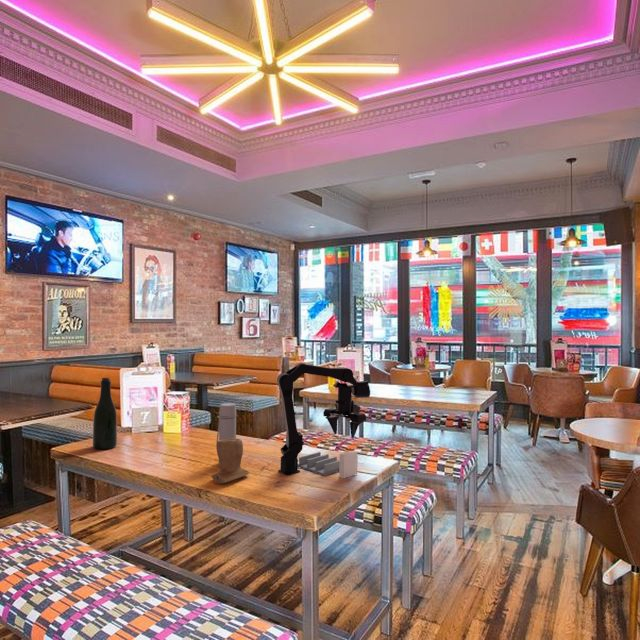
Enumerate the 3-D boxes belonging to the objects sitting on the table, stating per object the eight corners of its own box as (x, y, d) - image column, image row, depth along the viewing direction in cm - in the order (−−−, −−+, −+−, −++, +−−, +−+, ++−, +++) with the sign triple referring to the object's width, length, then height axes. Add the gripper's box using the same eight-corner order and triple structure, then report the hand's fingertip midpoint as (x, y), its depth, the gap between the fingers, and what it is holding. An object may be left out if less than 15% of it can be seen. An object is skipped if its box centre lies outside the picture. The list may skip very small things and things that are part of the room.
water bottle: (239, 462, 199) (240, 403, 200) (228, 467, 192) (229, 406, 193) (222, 459, 203) (222, 402, 204) (210, 464, 196) (211, 404, 196)
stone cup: (231, 470, 188) (232, 433, 189) (253, 476, 182) (254, 437, 182) (202, 480, 176) (203, 440, 176) (224, 487, 169) (225, 445, 169)
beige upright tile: (343, 478, 180) (344, 455, 180) (339, 477, 182) (339, 454, 182) (357, 474, 186) (357, 451, 186) (352, 472, 187) (353, 450, 187)
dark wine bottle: (119, 447, 220) (120, 377, 220) (95, 451, 213) (97, 379, 214) (113, 443, 228) (114, 375, 228) (89, 446, 221) (90, 377, 222)
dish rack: (324, 475, 183) (324, 465, 183) (296, 466, 195) (296, 457, 195) (347, 468, 193) (347, 458, 193) (320, 459, 204) (320, 451, 205)
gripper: (374, 398, 193) (373, 436, 193) (339, 393, 205) (339, 429, 205) (358, 401, 184) (357, 441, 184) (322, 396, 197) (322, 433, 197)
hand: (343, 435), depth 193 cm, fingers open, 9 cm apart
